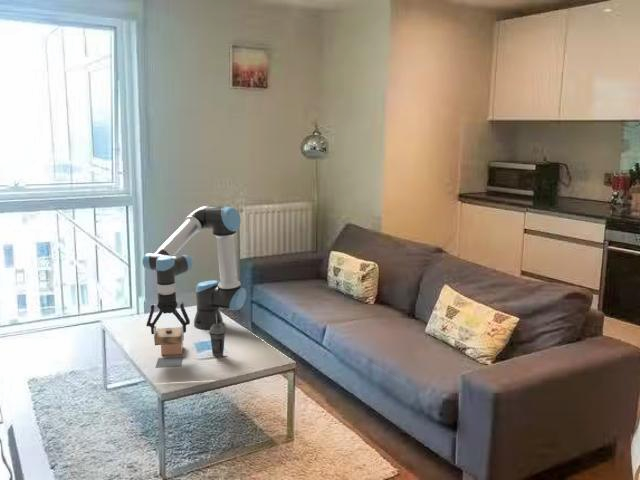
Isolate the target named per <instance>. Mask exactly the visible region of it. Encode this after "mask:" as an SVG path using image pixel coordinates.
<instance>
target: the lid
mask: <svg viewBox="0 0 640 480" xmlns="http://www.w3.org/2000/svg"><path fill="white" fill-rule="evenodd" d="M154 339H155V342H154V346H161V345H171V344H181V342H182V334H181V326H180V327H178V326H177V327H162V328H161V327H158V328H156V335H155V337H154V336H153V340H154Z"/></svg>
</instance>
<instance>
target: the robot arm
mask: <svg viewBox="0 0 640 480" xmlns="http://www.w3.org/2000/svg"><path fill="white" fill-rule="evenodd" d="M240 227H241V215H240V212H239V211H238V210H237V209H236V208H235V207H231V206H226V205H209V204H208V205H207V204H206V205H203V206H200V207H198V208H197V209H195V210H194V211H192V212H191V213H189V214H188V215H187V216H186V217H185V218H184V221H183V223H181V225H180V226H179V227H178V228H177V229H176V230H175V231H174V232H173V233H172V234H171V235H170V236H169V237H168V238H167V239H166V240H165V241H164V242H163V243H162V244H161V245H160V246H159V247H158V248H157V249H156V250H155V251H154V252H148V253H145V255H144V256H143V257H142V266H143V267H144V268H145V269H146V270H151V271H155V272H156V280H157V281H156V282H157V283H156V286H157V292H158V293H157V301H158V302H157V303H156V304H155V303H151V305H150V313H149V315H148V318H147V322H146V327H150V330H151V331H150V333H151V335H153V340H154V343H155V339H154V337H155V335H156V332H157V325H156V324H157V322H158V321H159V318H160V317H161V316H162V314H172V315H174V316H175V317H176V318H177V320H178V321H179V322H180V324H181V326H180V327H181V334H182V341H183V342H184V339H185V335H184V334H186V332H187V325H190V322H191V319H190V318H189V316H188V314H187V311H186V309H185V304H184V302H182V301H181V302H179V303H178V302H177V293H176V290H177V289H176V276H179V275H181V274H184V273H187V272H188V271H190V270H191V269H192V268H193V264H194V263H193V260H192V257H190V256H189V255H187V254H181V255H179V256H177V253H179V251H181V249H182V248H183V247H184V246H185V245H186V244H187V243H188V242H189V241H190V240H191V238H193V237H194V236H195V234H197V233H200V232H201V231H202V230H204V229H209V230H210V229H211V230H212V235H213V236H215V238H216V246H217V247H216V248H217V258H218V268H219V269H218V270H219V281H218V280H215V279H213V280H205V281H202V282H201V281H200V282H198V283H197V285H196V287H195V288H196V290H195V295H196V296H195V297H196V312H195V316H194V318H193V319H194V320H193V326H194V327H195V328H196V329H202V330H210V328H211V326H212V325H213V324H216V314H217V323H220V324H222V325H223V326H224V319H223V316H222V314H221V310H220V309H224V310H225V309H226V310H230V311H238V310H240V309H241V308H242V307H243V305H245V301H246V298H247V291H246V289H245V288H244V287H242V286H241V281H240V280H238V272H237V260H236V247H235V246H236V245H235V235H236V234H237V231H238V230H239V229H240ZM177 307H178V308H179V309H180V311H181V314H182V315H181V314H180V313H179V312H178V310H177ZM157 308H158V309H159V312H158V313H157V315H156V316H155V318H154V319H153V316H154V312H155V310H156V309H157ZM182 316H183V317H182ZM152 319H153V321H152ZM151 321H152V322H151Z"/></svg>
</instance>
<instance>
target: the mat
mask: <svg viewBox="0 0 640 480" xmlns="http://www.w3.org/2000/svg"><path fill="white" fill-rule="evenodd" d="M183 360H184V356H173V357H172V356H171V357H169V356H168V357H158V358H157V361H156V363H155V369H158V368H159V369H161V368H181V367H182V365H183Z"/></svg>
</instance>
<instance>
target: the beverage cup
mask: <svg viewBox="0 0 640 480" xmlns="http://www.w3.org/2000/svg"><path fill="white" fill-rule="evenodd" d="M225 336H226V328H225V326H224V324H223V325H222V324H220V323H217V314H216V324H213V325H212V326H211V328H210V329H209V337H210V341H211V342H210V343H211V352H212V357H215V358H217V357H221V358H222V356H224V349H225Z"/></svg>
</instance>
